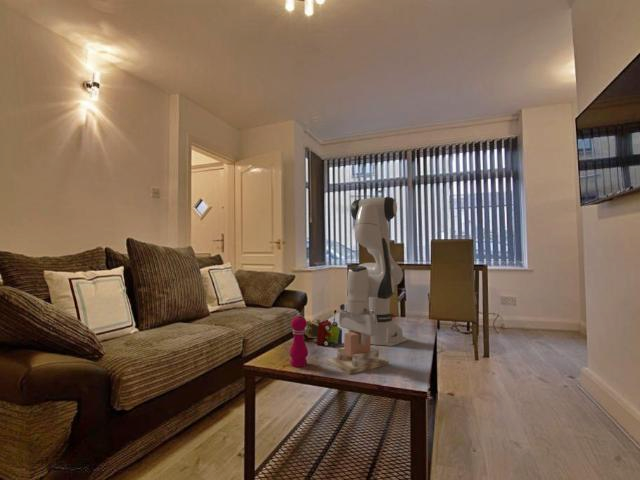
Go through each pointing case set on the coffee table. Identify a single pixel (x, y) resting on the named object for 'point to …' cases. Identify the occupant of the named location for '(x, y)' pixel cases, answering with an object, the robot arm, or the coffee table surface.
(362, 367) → the bookend rack
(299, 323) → the pepper mill
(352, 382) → the coffee table surface
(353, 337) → the upright pink tile
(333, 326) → the robot toy
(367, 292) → the robot arm
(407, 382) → the coffee table surface
